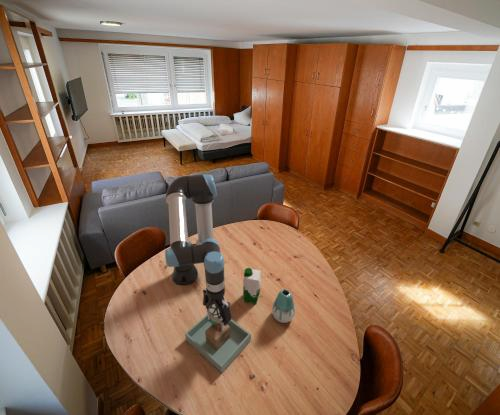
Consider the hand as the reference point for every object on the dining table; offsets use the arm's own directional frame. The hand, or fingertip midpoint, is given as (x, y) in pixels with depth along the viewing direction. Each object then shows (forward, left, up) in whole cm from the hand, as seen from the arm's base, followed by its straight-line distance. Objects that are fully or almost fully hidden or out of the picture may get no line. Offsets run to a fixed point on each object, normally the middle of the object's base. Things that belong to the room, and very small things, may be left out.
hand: (217, 322), depth 119 cm
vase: (+16, +31, -13) cm, 37 cm away
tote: (0, 0, -13) cm, 13 cm away
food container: (-1, 0, -1) cm, 2 cm away
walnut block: (0, 0, -12) cm, 12 cm away
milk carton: (-4, +30, -13) cm, 33 cm away
